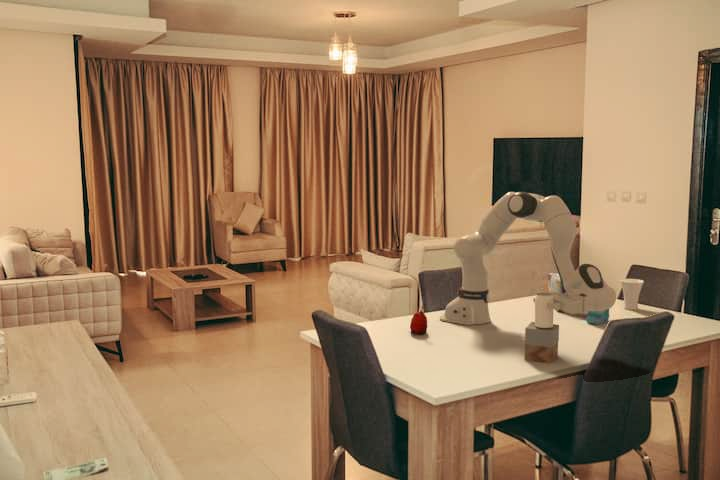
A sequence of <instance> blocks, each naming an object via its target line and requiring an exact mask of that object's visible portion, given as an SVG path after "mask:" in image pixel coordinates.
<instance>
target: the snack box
mask: <svg viewBox="0 0 720 480" xmlns="http://www.w3.org/2000/svg"><path fill="white" fill-rule="evenodd" d="M547 278H548V279H547V280H548V281H547V292H559V293H562V290H561V280H560V277H559V274H558V272H557V273H555V272H550V273H549V272H548V276H547ZM562 294H563V293H562ZM555 310H556V312H557V313H565V312H564V311H562V310H559V309H555Z"/></svg>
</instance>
